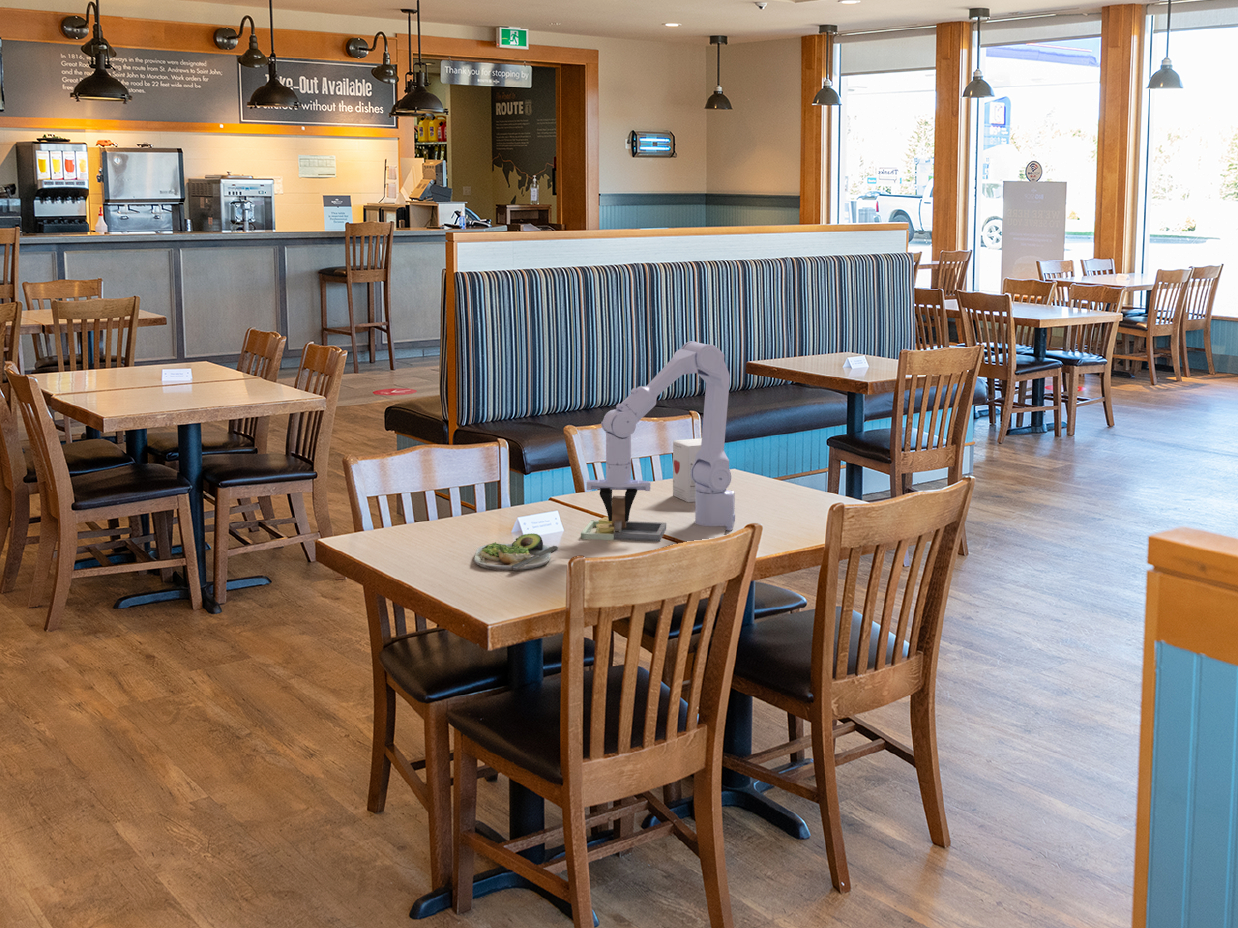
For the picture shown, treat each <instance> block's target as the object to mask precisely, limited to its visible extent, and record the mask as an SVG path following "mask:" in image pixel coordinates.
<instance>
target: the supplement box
mask: <svg viewBox="0 0 1238 928" xmlns="http://www.w3.org/2000/svg"><path fill="white" fill-rule="evenodd" d="M701 442H702V437H699V438H689V439H676V440H673V441H672V496H673V497H675V498H678V499H680V500H683V501H684V502H686V503H695V498H696V487H695V482H694V481H693V480H692V478H691V468H692V466H693V464H694V462H695V456H696V454H697V452H698V451H699V450H700V449H701Z"/></svg>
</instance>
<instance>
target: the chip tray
mask: <svg viewBox="0 0 1238 928" xmlns="http://www.w3.org/2000/svg"><path fill="white" fill-rule="evenodd" d="M596 524H599V520H590V521H589V523H588V524H587V525H586V527H585V528H584V529H583V530H582V532H581V533H580V539H581V540H583V539H584V540H598V541H599V540H603V541H615V540H614V534H605V533H596V532H591V531H592V530H593V528H594V527H595V528H596Z"/></svg>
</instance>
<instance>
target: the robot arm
mask: <svg viewBox="0 0 1238 928" xmlns="http://www.w3.org/2000/svg"><path fill="white" fill-rule="evenodd" d="M690 374H691V375H692V374H697V375H699V377H700V378H701V379H702V380H703V381H704V382H705V394H704V405H703V417H702V418H703V420H702V430H701V431H702V432H701V438H702V442H701V449H700V450H699V451H698V452H697V454H696V456H695V462H694V464H693V466H692V468H691V478H692V480H693V481H694V482H695V487H696V498H695V502H694V503H695V505H694V506H695V507H694V508H695V511H694V512H695V515H694V520H695V521H694V523H695V524H697V525H699V526H704V527H725V531H732V530H733V529H734V528H733V527H734V525H735V522H736V514H735V511H736V510H735V509H736V508H735V502H736V501H735V500H736V498H735V497H736V496H735V495H736V493H735V491H734V490H729V489H727V488H729V486H730V484H731V483H732V472H731V469H730V459H729V457H728V456H727V454H726V452H725V444H726V443H725V439H726V431H727V429H726V428H727V418H728V417H727V416H728V407H729V392H730V381H731V377H730V376H731V375H730V371H729V370H728V368H727V364H726V362H725V354H724V352H722V350H721V349H719V348H718V346H716V345H713V344H706V343H701V342H697V341H694V340H691V341H688V342H687V341H686V343H684V344H683V345H682V346H681V348H679V349H677V350H676V351H675V353H674V354H673V356H672V357H671V359H670V360H669V361H668V362H667V363H666V365H665V366H664V367H663V368H662V369H661V370H660V371H659V372H658V373H657V374H656V375H655V376H654V377H653V378H652V379H651V380H650V381H649V383H648V384H647V385H645V386H642V385H641V386H637V387H636V388H635V387H633V388H632V389H631V390H630V394H629V395H628V396H627V397H625V399H624V400H623V401H622V402H621V403H617V404H616V406H615V407H616V409H611V410H609V411H608V412H606V413H605V415H604V417H603V419H602V421H601V423H600V424H601V427H602V430H603V431H604V433H605V478H604V479H588V480H587V481H586V490H587V491H591V490H599V496H600V499H601V501H602V502H603V504H604V507H605V511H606V513H607V517H608V520H609V521H612V497H613V490H614V491H624V492H625V493H624V496H625V505H626V510H625V522H628V521H630V512H631V509H632V505H633V503H634V500H635V498H636V496H637V493H638V491H645V492H650V491H651V483H652V482H651V481H650V480H649V481H648V480H638V479H637V480H636V479H632V435H633V434H634V433H635V431H636V428H637V425H638V424H637V423H639V422H640V421H641V420H642V419H643V418H644V417H645V416H646V415H647V414H648V413H649V412H650V411H651V410H652V409H653V408H654V407H655V406H656V405H657V398H658V396H659V395H661V394H662V393H663V392H664V391H665V390H666V389H668V388H669V387H670V386H671V385H672V384H674V382H676V381H677V379H679V378H680V377H681V376H684V375H690Z"/></svg>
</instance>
